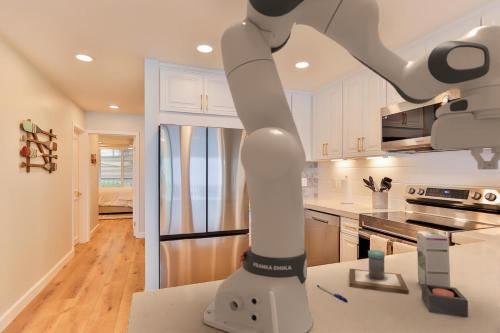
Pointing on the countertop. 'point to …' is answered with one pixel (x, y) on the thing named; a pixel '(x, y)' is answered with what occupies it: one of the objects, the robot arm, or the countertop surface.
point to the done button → (442, 292)
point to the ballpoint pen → (334, 294)
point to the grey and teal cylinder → (376, 264)
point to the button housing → (445, 301)
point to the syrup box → (433, 258)
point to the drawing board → (378, 282)
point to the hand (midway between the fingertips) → (487, 169)
